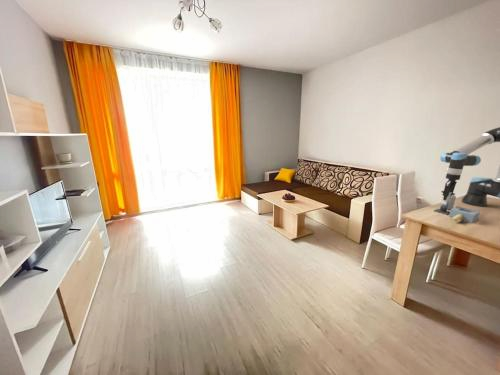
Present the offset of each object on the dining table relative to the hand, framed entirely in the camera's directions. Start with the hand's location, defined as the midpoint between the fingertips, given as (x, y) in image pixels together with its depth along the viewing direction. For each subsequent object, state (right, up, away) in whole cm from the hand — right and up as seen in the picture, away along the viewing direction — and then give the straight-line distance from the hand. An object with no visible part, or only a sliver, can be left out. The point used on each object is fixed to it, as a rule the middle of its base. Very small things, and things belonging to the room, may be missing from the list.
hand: (445, 203), depth 156 cm
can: (+10, -5, +10) cm, 15 cm away
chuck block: (0, -11, -11) cm, 15 cm away
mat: (0, -7, +2) cm, 7 cm away
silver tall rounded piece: (0, -6, +2) cm, 6 cm away
